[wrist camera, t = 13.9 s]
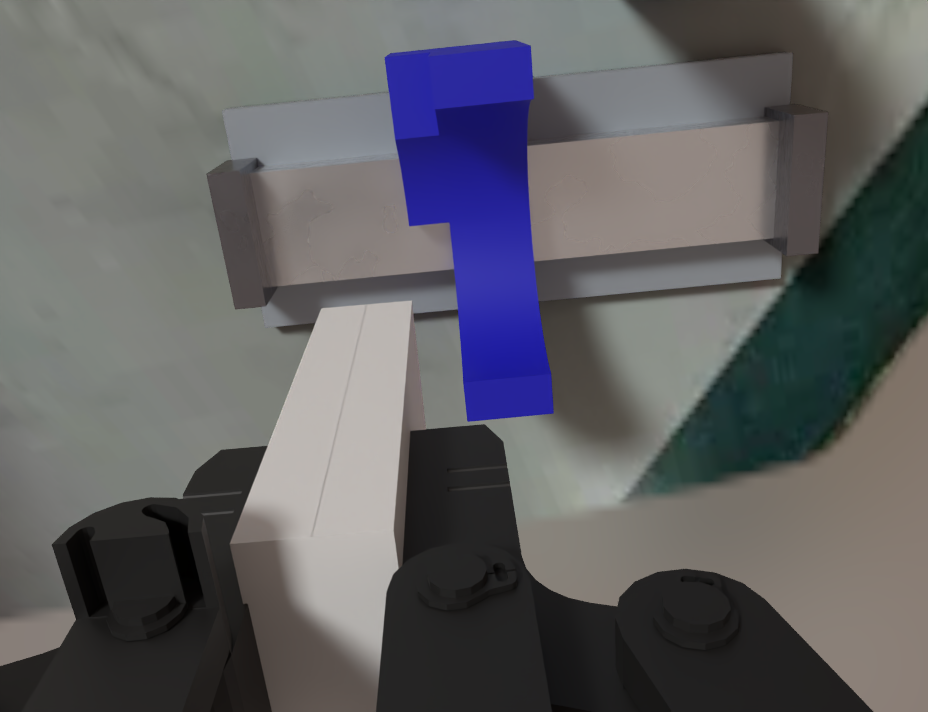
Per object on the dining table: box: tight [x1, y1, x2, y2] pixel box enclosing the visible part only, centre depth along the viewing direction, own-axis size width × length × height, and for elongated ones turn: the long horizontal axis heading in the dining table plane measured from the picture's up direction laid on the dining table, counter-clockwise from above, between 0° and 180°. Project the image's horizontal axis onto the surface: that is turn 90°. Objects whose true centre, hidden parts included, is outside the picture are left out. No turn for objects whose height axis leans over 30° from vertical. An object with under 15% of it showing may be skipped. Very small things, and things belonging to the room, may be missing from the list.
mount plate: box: [222, 52, 793, 328], centre depth 34 cm, size 22×9×1 cm, turn 95°
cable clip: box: [385, 40, 554, 422], centre depth 29 cm, size 12×4×6 cm, turn 6°
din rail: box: [207, 104, 828, 309], centre depth 32 cm, size 22×5×3 cm, turn 95°
